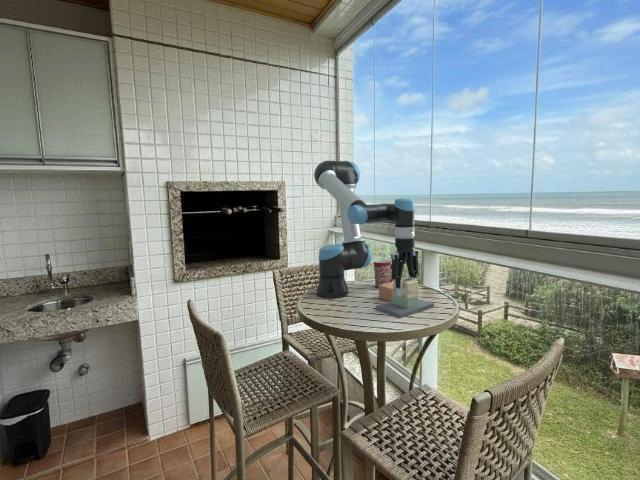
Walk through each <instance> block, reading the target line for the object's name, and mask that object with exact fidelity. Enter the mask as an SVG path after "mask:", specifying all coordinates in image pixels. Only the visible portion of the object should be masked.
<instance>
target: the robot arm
mask: <svg viewBox="0 0 640 480" xmlns="http://www.w3.org/2000/svg"><path fill="white" fill-rule="evenodd" d="M360 174H361V173H360V168H359V167H358V165H357V164H356V163H355V162H354V161H349V160H324V161H321V162H320V163H318V165H317V166H316V167H315V169H314V174H313V178H314V180H315V183H316V184H317V185H318V187H320V188H321V189H323V190H326V191H327V193H329V194H330V196H332V198H333V199H335V200H336V201H337V202H338V207H339V214H340V221H341V228H342V235H343V240H342V242H341V243H334V244H327V245H324V246H322V247H320V249H319V251H318V260H319V262H318V263H319V267H318V268H319V280H318V283H317V284H318V285H317V287H316V296H317V297H321V298H324V299H338V298H344V297H346V296H348V295H349V288H348V284H347V282H346V278H345V272H346V271H350V270H356V269H357V270H358V269H362V268H365V267H368V266H369V265H370V263H371V262H372V259H373V258H372V256H373V252H372V247H371V246H370V245H369V244H367V243H366V240H365V239H364V238H363V237H362V235H361V227H360V225H364V224H365V225H366V224H376V223H394V237H395V239H394V246H395V248H396V252H395V253H392V254H390V259H391V264H392V269H391V276H390V279H394V280H395V285H396V295H397V296H401V297H403V280H401V278H403V272H404V268H405V267H404V266H405V264H406V269H407V272H408V276H407V279H411V280H415V279H416V278H417V277H418V275H419V259H418V258H419V257H418V256H419V251H418V250H414V248H415V243H416V242H415V238H414V237H415V212H416V211H415V210H416V208H415V200H414V199H413V198H411V197H409V198H395V199H394V203H378V204H376V203H375V204H374V203H373V204H367V203H366V202H364V201H363V199H361V198H360V197H359V196H358V195H357V194H356V193H355V189H356V188H357V184H358V183H359V181H360V177H361V175H360ZM415 281H416V280H415Z"/></svg>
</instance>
